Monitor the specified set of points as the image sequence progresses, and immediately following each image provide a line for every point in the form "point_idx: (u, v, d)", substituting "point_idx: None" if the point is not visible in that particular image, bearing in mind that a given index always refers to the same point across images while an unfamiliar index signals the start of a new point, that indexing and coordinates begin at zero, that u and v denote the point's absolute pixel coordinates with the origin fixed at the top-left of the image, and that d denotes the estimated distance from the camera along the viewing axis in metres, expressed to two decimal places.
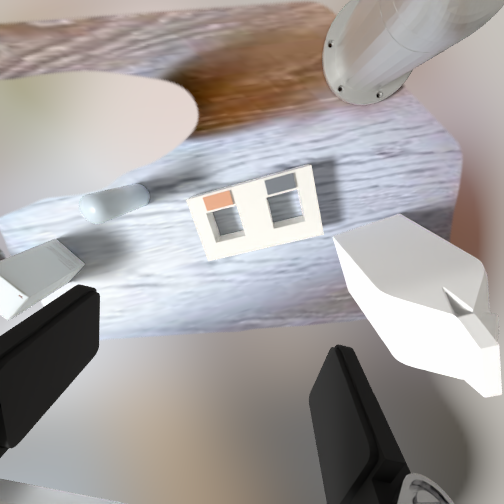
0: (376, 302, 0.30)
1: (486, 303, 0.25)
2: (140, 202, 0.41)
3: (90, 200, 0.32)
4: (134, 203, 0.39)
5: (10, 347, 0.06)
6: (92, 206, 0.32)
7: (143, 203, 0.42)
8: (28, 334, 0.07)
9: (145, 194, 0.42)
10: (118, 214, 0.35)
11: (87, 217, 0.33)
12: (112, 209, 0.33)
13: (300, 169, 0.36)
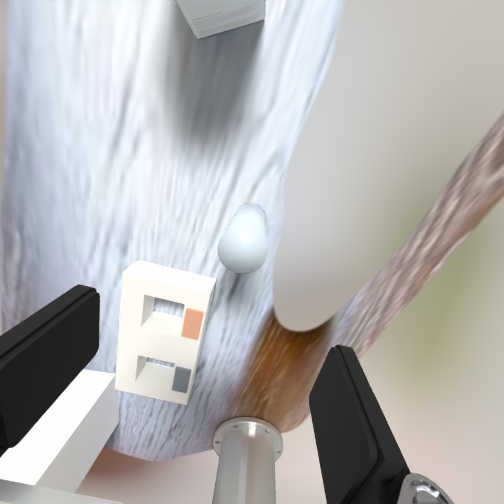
0: None
1: None
2: None
3: (256, 256, 0.20)
4: None
5: (10, 347, 0.06)
6: (246, 252, 0.20)
7: None
8: (28, 334, 0.07)
9: None
10: None
11: (237, 232, 0.19)
12: None
13: (186, 397, 0.37)
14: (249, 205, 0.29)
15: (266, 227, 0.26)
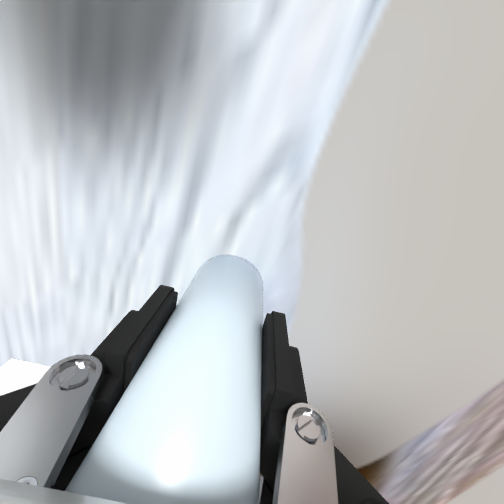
0: None
1: None
2: None
3: None
4: None
5: (136, 337, 0.07)
6: None
7: None
8: (143, 327, 0.08)
9: None
10: None
11: None
12: None
13: None
14: (220, 269, 0.12)
15: (260, 357, 0.09)
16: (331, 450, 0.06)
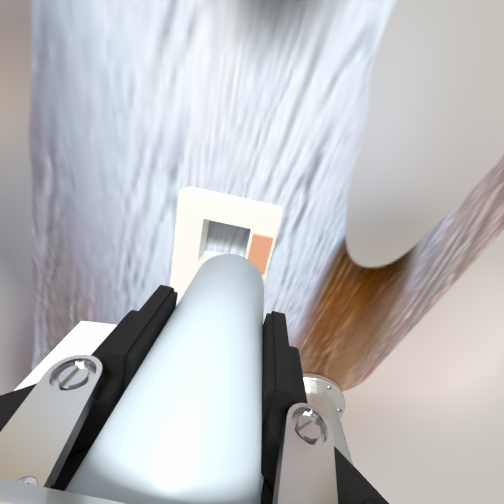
0: None
1: None
2: None
3: None
4: None
5: (136, 337, 0.07)
6: None
7: None
8: (143, 327, 0.08)
9: None
10: None
11: None
12: None
13: None
14: (221, 268, 0.12)
15: (261, 356, 0.09)
16: (331, 450, 0.06)
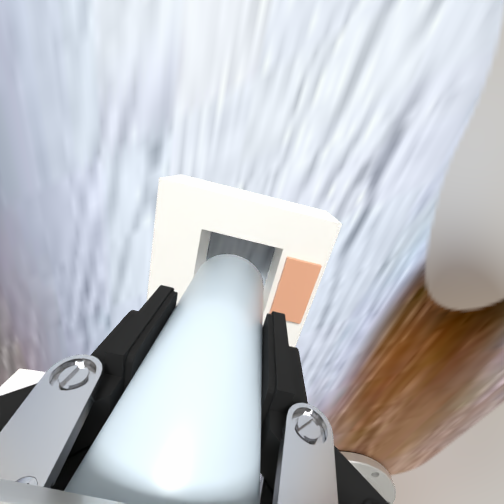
0: None
1: None
2: None
3: None
4: None
5: (137, 337, 0.07)
6: None
7: None
8: (143, 327, 0.08)
9: None
10: None
11: None
12: None
13: None
14: (220, 268, 0.12)
15: (261, 356, 0.09)
16: (331, 450, 0.06)
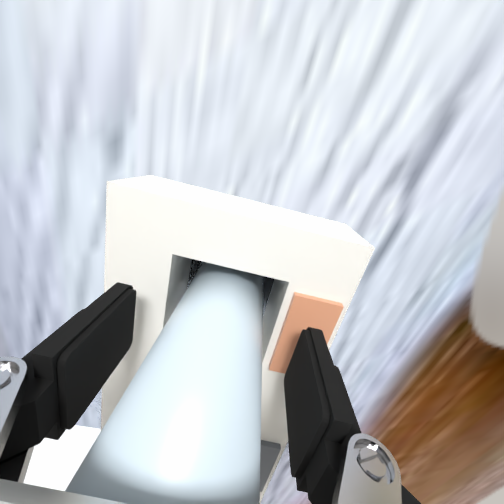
0: None
1: None
2: None
3: None
4: None
5: (73, 338, 0.07)
6: None
7: None
8: (85, 326, 0.07)
9: None
10: None
11: None
12: None
13: (260, 496, 0.17)
14: None
15: (261, 336, 0.10)
16: (398, 495, 0.05)
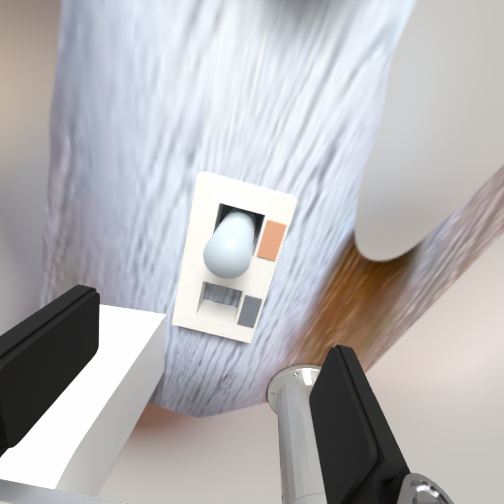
0: (59, 418, 0.23)
1: None
2: None
3: (240, 262, 0.21)
4: None
5: (11, 347, 0.06)
6: (231, 258, 0.21)
7: None
8: (28, 334, 0.07)
9: None
10: None
11: (222, 239, 0.20)
12: None
13: (252, 333, 0.33)
14: (238, 209, 0.29)
15: (253, 232, 0.26)
16: None
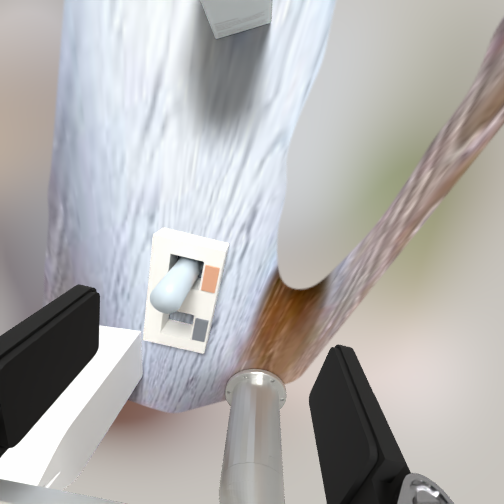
0: (56, 410, 0.33)
1: None
2: None
3: (174, 303, 0.31)
4: None
5: (11, 347, 0.06)
6: (168, 300, 0.31)
7: None
8: (28, 334, 0.07)
9: None
10: None
11: (161, 289, 0.30)
12: None
13: (204, 346, 0.43)
14: None
15: (194, 275, 0.36)
16: None
